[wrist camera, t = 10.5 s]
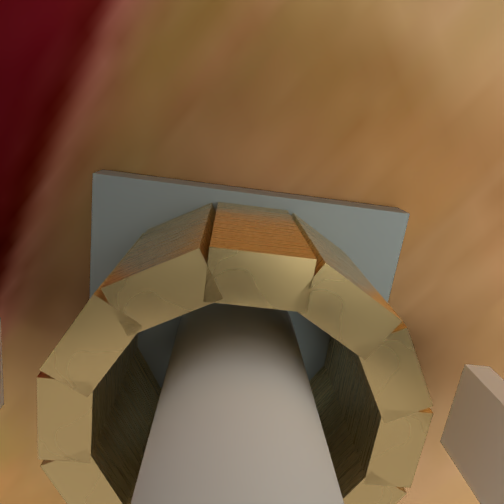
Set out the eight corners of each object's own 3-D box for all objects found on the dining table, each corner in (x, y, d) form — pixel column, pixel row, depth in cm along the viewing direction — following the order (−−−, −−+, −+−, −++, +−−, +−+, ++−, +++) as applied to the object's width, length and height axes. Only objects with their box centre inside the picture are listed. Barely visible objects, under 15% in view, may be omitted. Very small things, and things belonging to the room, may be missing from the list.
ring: (107, 187, 13) (34, 226, 8) (390, 223, 14) (474, 278, 9) (99, 430, 16) (39, 567, 11) (337, 449, 16) (380, 586, 12)
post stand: (102, 169, 14) (-150, 262, 5) (398, 207, 15) (668, 350, 6) (94, 424, 17) (-73, 786, 8) (341, 445, 17) (458, 795, 8)
